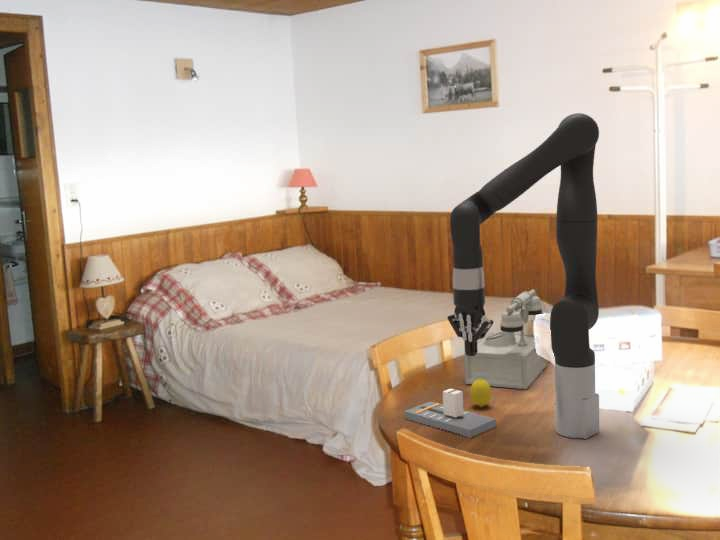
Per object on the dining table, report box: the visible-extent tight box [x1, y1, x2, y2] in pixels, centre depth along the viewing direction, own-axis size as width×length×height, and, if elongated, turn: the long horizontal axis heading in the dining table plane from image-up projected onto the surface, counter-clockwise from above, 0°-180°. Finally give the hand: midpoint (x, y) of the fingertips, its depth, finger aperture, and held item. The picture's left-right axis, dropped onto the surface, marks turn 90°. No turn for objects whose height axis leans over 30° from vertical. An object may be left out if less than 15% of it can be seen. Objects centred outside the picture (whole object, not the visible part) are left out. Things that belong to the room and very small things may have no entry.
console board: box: [404, 400, 497, 439], centre depth 209 cm, size 22×10×2 cm, turn 42°
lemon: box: [469, 378, 492, 408], centre depth 218 cm, size 6×6×8 cm
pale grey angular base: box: [464, 289, 548, 390], centre depth 245 cm, size 32×20×25 cm, turn 154°
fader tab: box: [442, 388, 464, 418], centre depth 207 cm, size 4×3×6 cm
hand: (471, 355), depth 200 cm, fingers closed
